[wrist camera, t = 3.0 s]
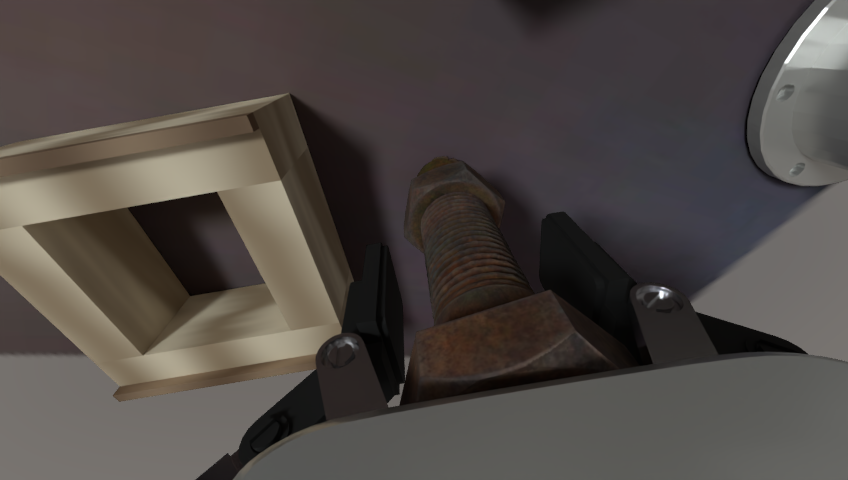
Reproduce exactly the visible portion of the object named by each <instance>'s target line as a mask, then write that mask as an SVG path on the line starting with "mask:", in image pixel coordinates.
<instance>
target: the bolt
mask: <svg viewBox="0 0 848 480" xmlns="http://www.w3.org/2000/svg"><path fill="white" fill-rule="evenodd" d="M447 158H448V157H445V156H442V157H436V158H434V159H433V160H432V161H431V162H429V163H428V164H426V165H425V166H424V167H423V168H422V169H421V171H420V172H419V174H418V175H417V177H416V178H414V179H412V180H411V184H410V189H409V194H408V200H407V206H406V212H405V221H404V237H405V238H406V239H407V240H408V241H409V242H410V243H411V244H412V245H414V246H415V247H416V248H417V249H419V250H420V251H421V252H422V253H424V255H425V264H426V269H427V277H428V284H429V291H430V298H431V299H430V300H431V304H432V305H431V307H432V312H433V313H432V315H433V319H434V326H433V327H430V328H427V329H424V330H421V331H417V332H416V336H415V340H414V345H413V349H412V353H411V358H410V362H409V366H408V371H407V375H406V380H405V384H404V388H403V392H402V396H401V401H400V405H399V406H401V405H406V404H412V403H418V402H424V401H430V400H435V399H441V398H447V397H453V396H459V395H465V394H471V393H477V392H483V391H489V390H495V389H501V388H507V387H513V386H519V385H525V384H531V383H537V382H544V381H550V380H556V379H562V378H568V377H574V376H581V375H587V374H593V373H599V372H606V371H612V370H618V369H625V368H631V367H637V366H640V365H639V364H638V362H637V361H636V360H635V358H634V357H633V356H632V354H631V353H630V352H629V350H628V349H627V348H626V346H625V345H623V344H622V343H621V342H619V341H618V340H617V339H615V338H614V337H613V336H611V335H610V334H609V333H607V332H606V331H605V330H603V329H602V328H601V327H599V326H598V325H597V324H595V323H594V322H593V321H591V320H590V319H589V318H587V317H586V316H585V315H583V314H582V313H581V312H579V311H578V310H577V309H575V308H574V307H573V306H571V305H570V304H569V303H567V302H566V301H565V300H563V299H562V298H561V297H559V296H558V295H557V294H555V293H554V292H553V291H551V290H547V291H544V292H541V293H538V294H535V293H534V292H533V290H532V289H531V287H530V285H529V283H528V281H527V279H526V277H525V276H524V274H523V272H522V270H521V269H520V267H519V266H518V264H517V262H516V260H515V259H514V256H513V255H512V253H511V250H510V248H509V247H508V245H507V243H506V241H505V239H504V238H503V235H502V234H501V232H500V230H499V228H500V224H501V220H502V217H503V212H504V206H505V201H504V199H503V198H502V196H501V195H500V193H499V192H498V191H497V190H496V189H495V188H494V187H493V186H492V185H491V184H490V183H489V182H487V181H486V180H485V179H484V178H483V177H482V176H481V175H480V174H478V173H477V172H476V171H475V170H473V169H472V168H471V167H470V166H468V165H467V164H466V163H464V162H463V161H458V160H456V159H454V158H452V159H449V160H448V159H447Z"/></svg>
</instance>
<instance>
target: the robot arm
mask: <svg viewBox="0 0 848 480" xmlns="http://www.w3.org/2000/svg"><path fill="white" fill-rule="evenodd" d="M747 141H748V145H749V150H750V154H751V156H752V157H753V159H754V161H755V162H756V164H757V166H758V167H759V168H761V169H762V170H763V171H764V172H765V173H767V174H768V175H770V176H773V177H775V178H777V179H780V180H782V181H785V182H787V183H792V184H796V185H800V186H822V185H828V184H834V183H839V182H842V181H845V180H848V0H815V1H814V2H813V3H812V4H811V5H810V6H809V8H808V9H807V10H806V11H805V12H804V13H803V14H802V15H801V17H800V18H799V19H798V20H797V21H796V22H795V23H794V25H793V26H792V28H791V29H790V30H789V32H788V33H787V35H786V36H785V37H784V39H783V40H782V42H781V43H780V44H779V46H778V47H777V49H776V50H775V52H774V54H773V56H772V57H771V59H770V61H769V63H768V65H767V66H766V68H765V70H764V72H763V74H762V76H761V78H760V81H759V83H758V86H757V88H756V91H755V93H754V96H753V98H752V103H751V107H750V111H749V116H748V120H747ZM539 277H540V282H541V284H542V286H543V288H544V289H545V291H547V290H551V291H553V292H554V293H555V294H557V295H558V296H559V297H561V298H562V299H563V300H565V301H566V302H567V303H569V304H570V305H571V306H573V307H574V308H575V309H577V310H578V311H579V312H581V313H582V314H583V315H585V316H586V317H587V318H589V319H590V320H591V321H593V322H594V323H595V324H597V325H598V326H599V327H601V328H602V329H603V330H605V331H606V332H607V333H609V334H610V335H611V336H613V337H614V338H615V339H617V340H618V341H619V342H621V343H622V344H623V345H625V346H626V348H627V349H628V350H629V352H630V353H631V354H632V356H633V357H634V358H635V360H636V361H637V362H638V364H639V365H640V366H637V367H631V368H625V369H618V370H612V371H606V372H599V373H593V374H587V375H581V376H574V377H568V378H562V379H556V380H550V381H544V382H537V383H531V384H525V385H519V386H513V387H507V388H501V389H495V390H489V391H483V392H477V393H471V394H465V395H459V396H453V397H447V398H441V399H435V400H430V401H424V402H418V403H412V404H406V405H401V406H395V407H390V408H389V407H388V405H387V403H388V402H389V401H390V400H391V399H392V398H393V397H394V395H398V394H400V393H399V384H402V383H405V367H404V334H403V305H402V299H401V295H400V291H399V287H398V283H397V279H396V275H395V271H394V267H393V263H392V259H391V255H390V252H389V248H388V246H383V245H382V243H376V244H371V245H367V247H366V254H365V261H364V268H363V276H362V281H356V282H351V283H350V286H349V292H348V297H347V303H346V308H345V314H344V319H343V325H342V330H341V334H338V335H335V336H333V337H331V338H330V339H328V340H327V341H326V342H325V343H323V344H322V346H321V347H320V348H319V350H318V352H317V354H316V359H315V363H316V368H317V369H316V370H315V371H313V372H312V373H311V374H310V375H309V376H308V377H306V378H305V379H304V380H303V381H302V382H301V383H300V384H298V385H297V386H296V387H295V388H294V389H293V390H291V391H290V392H289V393H288V394H287V395H286V396H284V397H283V398H282V399H281V400H280V401H279V402H277V403H276V404H275V405H274V406H273V407H272V408H271V409H269V410H268V411H267V412H266V413H265V414H264V415H263V416H261V417H260V418H259V419H258V420H257V421H256V422H255V423H254V424H253V425H252V426H251V427H250V428H249V429H248V430H247V432H246V433H245V435H244V437H243V438H242V441H241V444H240V446H239V449H238V450H237V451H236V452H235V453H234V454H233V455H231V456H230V455H229V454H228V453H227V454H226V455H224V456H223V457H222V458H221V459H220V460H218V461H217V462H216V463H215V464H214V465H213V466H211V467H210V468H209V469H208V470H206V471H205V472H204V473H203V474H202V475H200V476H199V477H198V478H197V479H196V480H848V362H845V361H842V360H838V359H833V358H828V357H822V356H814V355H808V354H807V353H806V352H805V351H803V350H802V349H801V348H799V347H798V346H796V345H794V344H792V343H790V342H789V341H787V340H784V339H781V338H779V337H776V336H773V335H770V334H766V333H763V332H760V331H756V330H753V329H750V328H747V327H744V326H740V325H737V324H734V323H730V322H727V321H724V320H720V319H717V318H714V317H711V316H708V315H704V314H701V313H698V312H695V311H694V309H693V307H692V305H691V303H690V301H689V300H688V299H687V297H686V296H685V295H684V294H682V293H681V292H680V291H678V290H676V289H674V288H672V287H670V286H667V285H664V284H660V283H652V282H649V283H641V284H637V283H636V282H635V281H634V280H633V279H632V278H631V277H630V276H629V275H628V274H627V273H626V272H625V271H624V270H623V269H622V268H621V267H620V266H619V265H618V264H617V263H616V262H615V261H614V260H613V259H612V258H611V257H610V256H609V255H608V254H607V253H606V252H605V251H604V250H603V249H602V248H601V247H600V246H599V245H598V244H597V243H596V242H593V241H592V240H591V238H590V237H589V236H588V235H587V234H586V233H585V232H584V231H583V230H582V229H581V228H580V227H579V226H578V225H577V224H576V223H575V222H574V221H573V220H572V219H571V218H570V217H569V216H568V215H567V214H566V213H565V212H557V213H551V214H548V215H547V216H546V218H545V219H542V225H541V248H540V270H539Z"/></svg>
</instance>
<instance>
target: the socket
mask: <svg viewBox="0 0 848 480" xmlns="http://www.w3.org/2000/svg"><path fill="white" fill-rule="evenodd" d="M212 192H217V193H218V195H219V197H220V198H221V200H222V202H223V204H224V206H225V208H226V210H227V212H228V213H229V215H230V217H231V219H232V221H233V223H234V225H235V227H236V228H237V230H238V232H239V234H240V236H241V238H242V240H243V242H244V243H245V245H246V247H247V249H248V251H249V253H250V255H251V257H252V259H253V260H254V262H255V264H256V266H257V268H258V270H259V272H260V274H261V275H262V277H263V279H264V281H265V284H259V285H253V286H247V287H241V288H235V289H229V290H223V291H218V292H212V293H206V294H200V295H194V296H190V295H189V294H188V292H187V291H186V290H185V288H184V287H183V285H182V284H181V282H180V281H179V280H178V278H177V277H176V275H175V274H174V273H173V271H172V270H171V268H170V267H169V266H168V264H167V263H166V261H165V260H164V259H163V257H162V256H161V254H160V253H159V252H158V250H157V249H156V247H155V246H154V245H153V243H152V242H151V240H150V239H149V237H148V236H147V235H146V233H145V232H144V230H143V229H142V228H141V226H140V225H139V223H138V222H137V221H136V219H135V218H134V216H133V215H132V214H131V212H130V211H129V209H128V208H127V207H132V206H138V205H143V204H149V203H155V202H161V201H166V200H172V199H178V198H183V197H189V196H195V195H200V194H206V193H212ZM0 275H1V276H2V277H3V278H4V279H5V280H6V281H7V282H8V283H9V284H11V285H12V286H13V287H14V288H15V289H16V290H17V291H18V292H19V293H20V294H21V295H22V296H23V297H24V298H26V299H27V300H28V301H29V302H30V303H31V304H32V305H33V306H34V307H35V308H36V309H37V310H38V311H40V312H41V313H42V314H43V315H44V316H45V317H46V318H47V319H48V320H49V321H50V322H51V323H52V324H53V325H55V326H56V327H57V328H58V329H59V330H60V331H61V332H62V333H63V334H64V335H65V336H66V337H67V338H69V339H70V340H71V341H72V342H73V343H74V344H75V345H76V346H77V347H78V348H79V349H80V350H81V351H82V352H84V353H85V354H86V355H87V356H88V357H89V358H90V359H91V360H92V361H93V362H94V363H95V364H96V365H98V366H99V367H100V368H101V369H102V370H103V371H104V372H105V373H106V374H107V375H108V376H109V377H110V378H111V379H113V380H114V381H115V382H116V383H117V384H118V385H119V386H120V387H119V388H118V390H117V391H116V392H115V394H114V395H113V396H114V397H115V398H116V399H117V400H118V401H119V402H120V401H126V400H132V399H138V398H144V397H150V396H156V395H163V394H168V393H175V392H180V391H187V390H193V389H199V388H205V387H211V386H217V385H223V384H229V383H235V382H240V381H247V380H253V379H259V378H265V377H271V376H277V375H283V374H289V373H295V372H301V371H307V370H313V369H317V368H316V363H315V359H316V354H317V352H318V350H319V348H320V347H321V346H322V344H323V343H325V342H326V341H327V340H328V339H330V338H331V337H333V336H335V335H338V334H341V330H342V325H343V319H344V314H345V308H346V303H347V297H348V292H349V286H350V283H351V282H354V280H353V277H352V274H351V271H350V268H349V265H348V262H347V259H346V256H345V254H344V251H343V248H342V245H341V242H340V239H339V236H338V233H337V230H336V227H335V224H334V222H333V219H332V216H331V213H330V210H329V207H328V204H327V201H326V198H325V195H324V193H323V190H322V187H321V184H320V181H319V178H318V175H317V172H316V169H315V166H314V163H313V161H312V158H311V155H310V152H309V149H308V146H307V143H306V140H305V137H304V134H303V132H302V129H301V126H300V123H299V120H298V117H297V114H296V111H295V108H294V105H293V102H292V100H291V97H290V94H289V93H288V94H282V95H277V96H271V97H266V98H260V99H254V100H249V101H243V102H238V103H232V104H227V105H221V106H215V107H210V108H204V109H199V110H193V111H188V112H182V113H176V114H171V115H165V116H160V117H154V118H149V119H143V120H138V121H132V122H126V123H121V124H115V125H110V126H104V127H99V128H93V129H87V130H82V131H76V132H71V133H65V134H60V135H54V136H48V137H43V138H37V139H32V140H26V141H21V142H17V143H14V144H10V145H6V146H3V147H0Z"/></svg>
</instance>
